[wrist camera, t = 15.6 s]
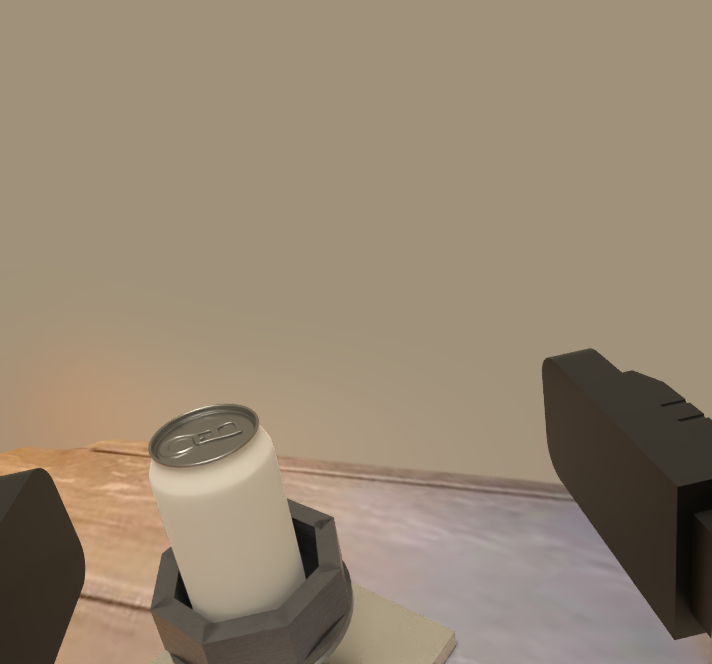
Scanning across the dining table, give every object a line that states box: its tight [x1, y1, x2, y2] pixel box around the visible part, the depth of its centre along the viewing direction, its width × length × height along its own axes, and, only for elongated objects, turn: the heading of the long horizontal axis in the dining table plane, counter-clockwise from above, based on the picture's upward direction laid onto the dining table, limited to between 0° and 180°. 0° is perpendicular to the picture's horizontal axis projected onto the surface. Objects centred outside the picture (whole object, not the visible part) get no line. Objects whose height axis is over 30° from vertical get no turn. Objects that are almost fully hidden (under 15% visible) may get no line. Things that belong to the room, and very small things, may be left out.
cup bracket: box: [150, 499, 456, 664], centre depth 38 cm, size 16×16×10 cm
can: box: [148, 404, 306, 623], centre depth 35 cm, size 6×6×12 cm
